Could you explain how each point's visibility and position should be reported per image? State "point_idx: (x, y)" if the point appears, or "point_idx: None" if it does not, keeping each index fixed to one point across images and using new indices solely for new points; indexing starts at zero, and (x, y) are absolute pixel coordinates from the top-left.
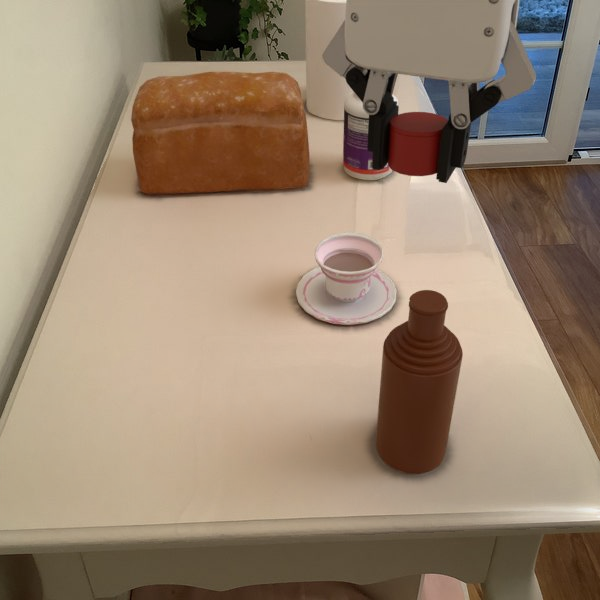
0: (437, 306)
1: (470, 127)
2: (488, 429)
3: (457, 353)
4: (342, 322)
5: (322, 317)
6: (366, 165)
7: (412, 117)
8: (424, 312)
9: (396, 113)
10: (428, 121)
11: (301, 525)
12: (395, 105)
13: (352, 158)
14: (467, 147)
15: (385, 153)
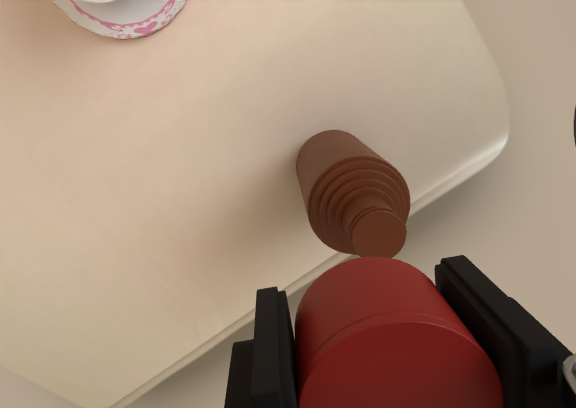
0: (395, 243)
1: (570, 352)
2: (395, 98)
3: (406, 200)
4: (157, 29)
5: (128, 37)
6: None
7: (362, 392)
8: None
9: (293, 387)
10: (428, 398)
11: (290, 292)
12: (286, 405)
13: None
14: (526, 311)
15: None
